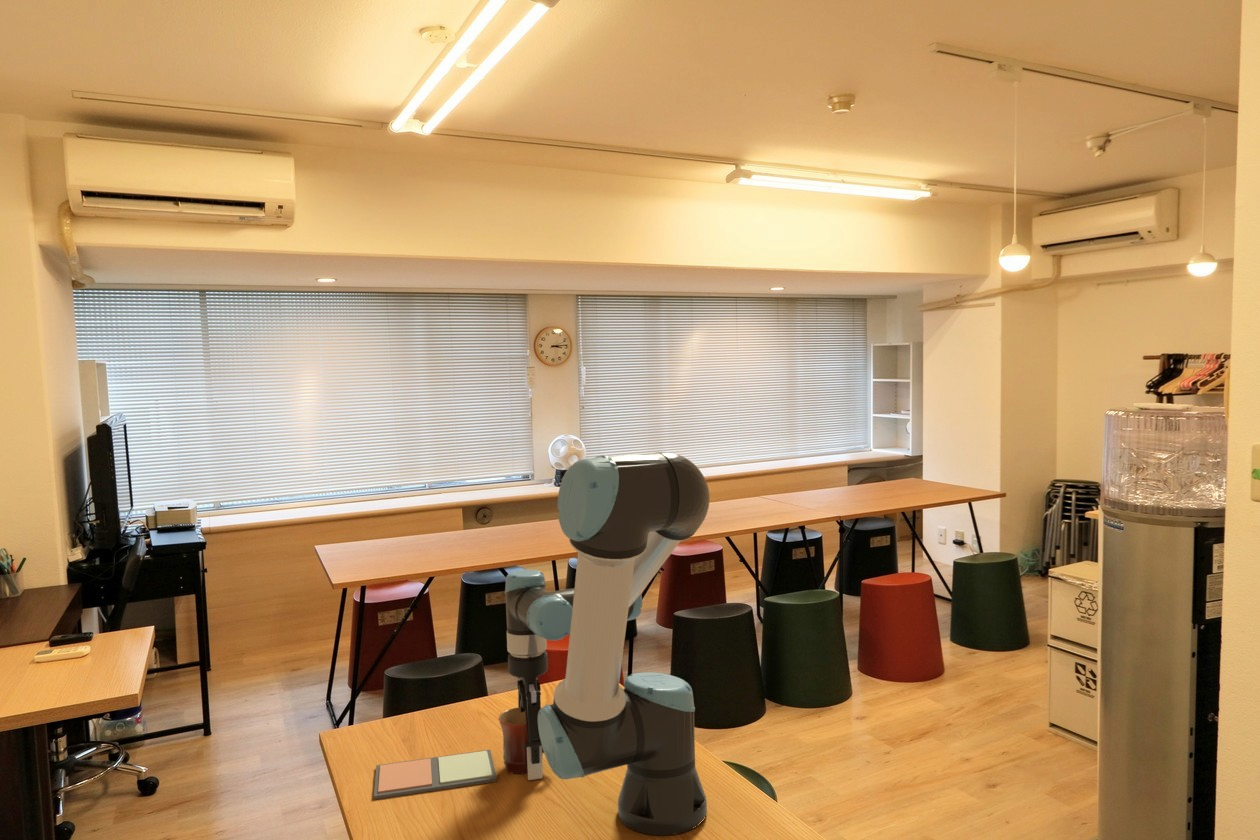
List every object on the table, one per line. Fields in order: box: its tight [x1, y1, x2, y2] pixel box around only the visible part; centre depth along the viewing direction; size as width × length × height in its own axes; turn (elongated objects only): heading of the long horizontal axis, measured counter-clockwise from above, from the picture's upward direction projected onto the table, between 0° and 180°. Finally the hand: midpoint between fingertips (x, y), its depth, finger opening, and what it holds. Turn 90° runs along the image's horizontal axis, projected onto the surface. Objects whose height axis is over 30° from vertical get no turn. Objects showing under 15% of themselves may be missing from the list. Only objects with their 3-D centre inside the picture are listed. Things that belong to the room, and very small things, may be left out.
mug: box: [498, 707, 544, 776], centre depth 162 cm, size 12×9×10 cm
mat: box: [373, 749, 498, 800], centre depth 160 cm, size 13×22×1 cm, turn 105°
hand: (531, 766), depth 162 cm, fingers open, 9 cm apart
